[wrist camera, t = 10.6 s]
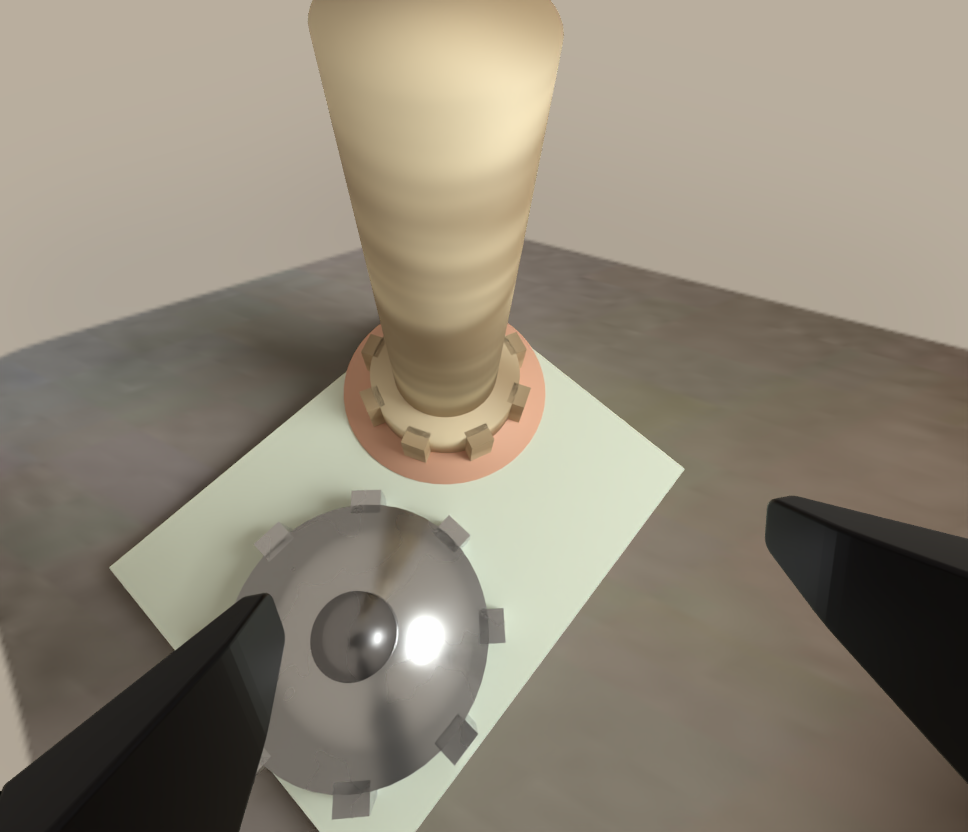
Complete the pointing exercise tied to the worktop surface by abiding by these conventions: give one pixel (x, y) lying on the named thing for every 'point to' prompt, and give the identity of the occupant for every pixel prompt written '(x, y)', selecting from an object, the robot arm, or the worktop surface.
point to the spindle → (440, 197)
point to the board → (433, 495)
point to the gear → (371, 648)
